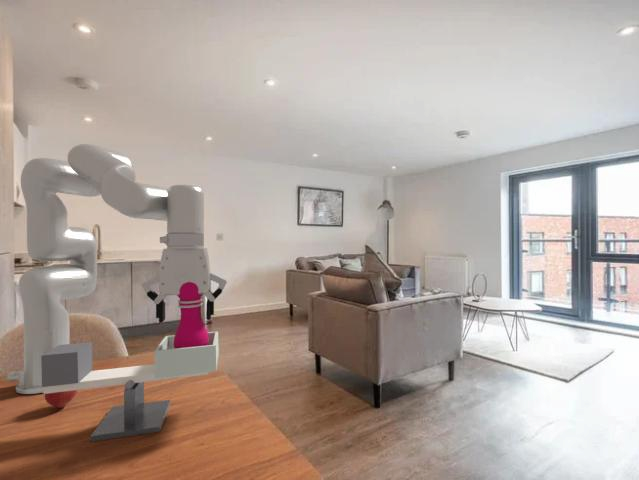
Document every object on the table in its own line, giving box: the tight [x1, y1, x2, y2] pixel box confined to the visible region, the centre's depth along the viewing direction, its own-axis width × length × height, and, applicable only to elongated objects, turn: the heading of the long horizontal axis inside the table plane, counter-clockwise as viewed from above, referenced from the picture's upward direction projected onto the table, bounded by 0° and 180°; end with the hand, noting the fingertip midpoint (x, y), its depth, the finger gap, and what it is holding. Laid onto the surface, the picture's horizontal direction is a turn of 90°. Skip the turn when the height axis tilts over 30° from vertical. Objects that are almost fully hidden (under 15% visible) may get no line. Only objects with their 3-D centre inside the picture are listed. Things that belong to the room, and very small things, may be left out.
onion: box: [44, 390, 78, 409], centre depth 77 cm, size 6×6×8 cm
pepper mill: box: [174, 282, 209, 349], centre depth 74 cm, size 7×7×20 cm
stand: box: [90, 382, 171, 442], centre depth 71 cm, size 12×12×8 cm
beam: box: [41, 331, 220, 395], centre depth 71 cm, size 32×12×8 cm, turn 105°
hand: (185, 319), depth 74 cm, fingers open, 9 cm apart
